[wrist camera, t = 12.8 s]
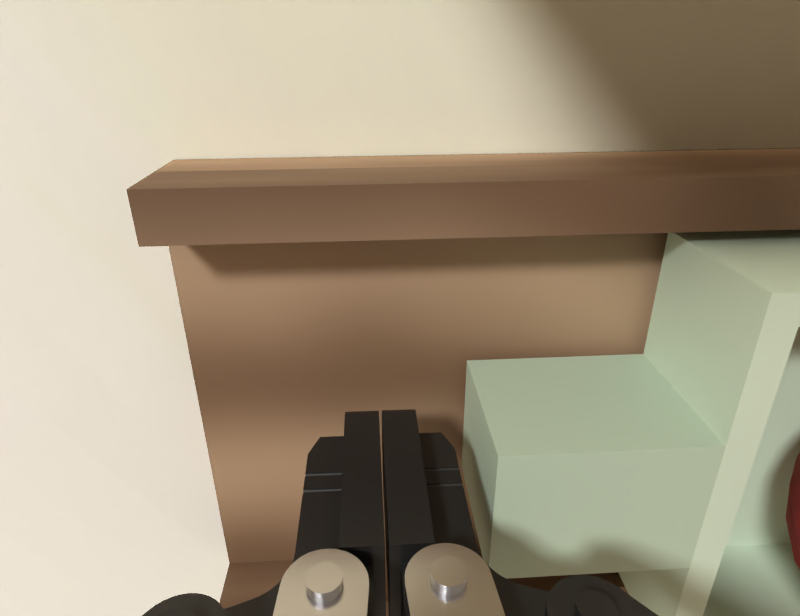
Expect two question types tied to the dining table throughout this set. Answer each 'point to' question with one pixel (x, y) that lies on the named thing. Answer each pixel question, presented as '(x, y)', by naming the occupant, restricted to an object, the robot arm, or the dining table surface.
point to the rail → (412, 292)
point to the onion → (794, 511)
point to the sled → (656, 441)
